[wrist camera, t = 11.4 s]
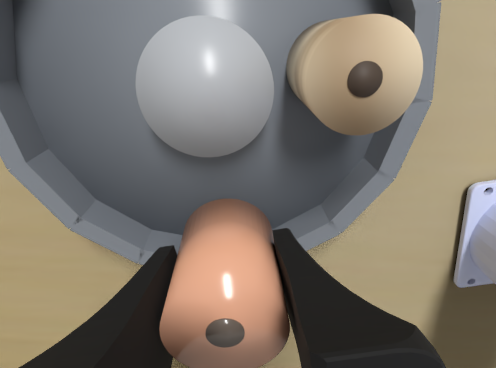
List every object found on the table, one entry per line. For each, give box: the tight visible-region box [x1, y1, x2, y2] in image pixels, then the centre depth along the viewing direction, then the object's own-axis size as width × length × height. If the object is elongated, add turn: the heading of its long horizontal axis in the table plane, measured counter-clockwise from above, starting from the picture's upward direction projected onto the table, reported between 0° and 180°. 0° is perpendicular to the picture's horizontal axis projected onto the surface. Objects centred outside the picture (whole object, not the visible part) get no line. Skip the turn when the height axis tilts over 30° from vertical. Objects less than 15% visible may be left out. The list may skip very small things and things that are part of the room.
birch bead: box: [286, 14, 423, 135], centre depth 13 cm, size 4×4×5 cm
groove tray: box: [0, 0, 441, 265], centre depth 15 cm, size 20×20×3 cm
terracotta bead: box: [159, 199, 290, 368], centre depth 12 cm, size 4×4×5 cm
